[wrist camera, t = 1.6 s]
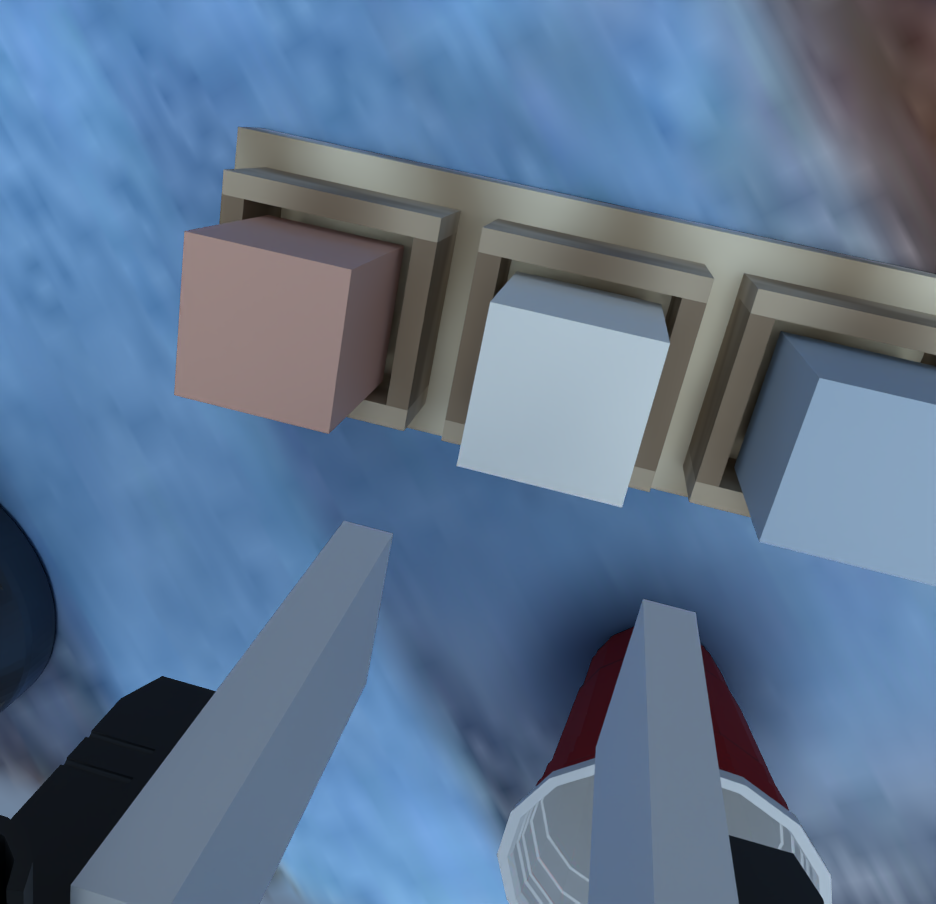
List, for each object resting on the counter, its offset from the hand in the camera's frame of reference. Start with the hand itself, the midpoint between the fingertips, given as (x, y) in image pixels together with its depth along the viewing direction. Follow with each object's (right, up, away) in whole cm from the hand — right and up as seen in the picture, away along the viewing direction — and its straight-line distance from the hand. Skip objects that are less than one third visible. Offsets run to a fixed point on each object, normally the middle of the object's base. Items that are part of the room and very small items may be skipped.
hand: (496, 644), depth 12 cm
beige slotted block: (+4, +8, +21) cm, 23 cm away
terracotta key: (-6, +8, +18) cm, 20 cm away
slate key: (+12, +4, +16) cm, 20 cm away
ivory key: (+3, +6, +17) cm, 18 cm away
